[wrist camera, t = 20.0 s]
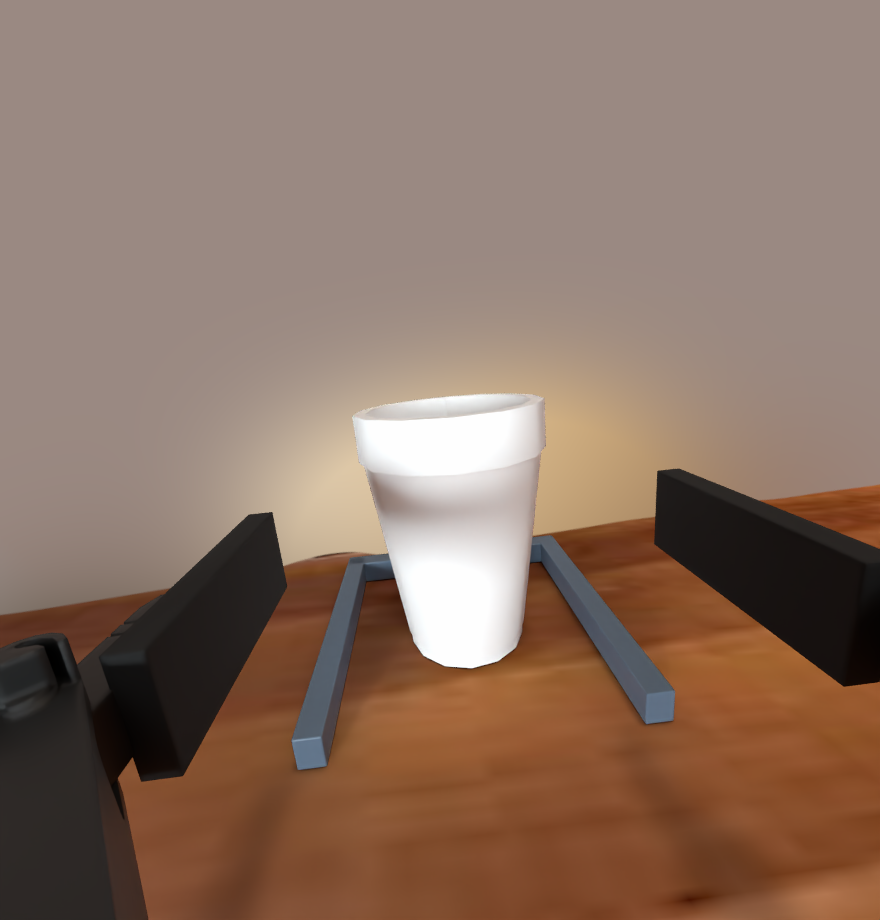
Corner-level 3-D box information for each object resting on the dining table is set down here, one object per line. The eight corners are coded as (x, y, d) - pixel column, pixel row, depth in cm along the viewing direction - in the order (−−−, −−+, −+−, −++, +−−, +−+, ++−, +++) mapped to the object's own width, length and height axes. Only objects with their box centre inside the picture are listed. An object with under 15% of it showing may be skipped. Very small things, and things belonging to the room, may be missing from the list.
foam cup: (397, 714, 18) (356, 429, 15) (377, 602, 27) (349, 407, 24) (585, 662, 20) (583, 401, 17) (510, 573, 29) (500, 390, 26)
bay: (673, 721, 17) (675, 690, 16) (296, 771, 16) (290, 740, 16) (551, 552, 31) (551, 534, 31) (352, 575, 31) (349, 557, 30)
